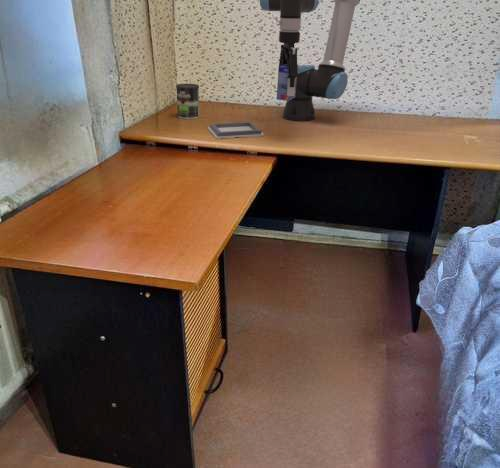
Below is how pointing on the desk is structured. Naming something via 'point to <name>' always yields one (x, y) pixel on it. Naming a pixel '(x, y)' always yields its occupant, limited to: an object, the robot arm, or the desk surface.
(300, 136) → the desk surface
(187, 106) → the coffee can
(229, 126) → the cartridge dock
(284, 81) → the ink cartridge box
